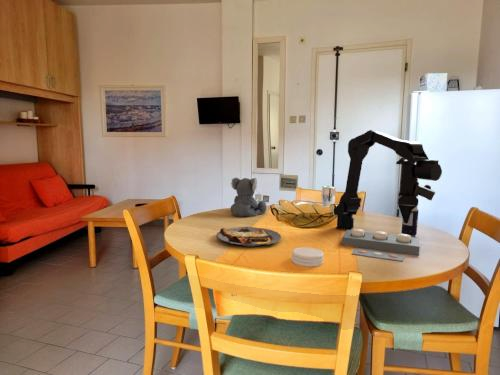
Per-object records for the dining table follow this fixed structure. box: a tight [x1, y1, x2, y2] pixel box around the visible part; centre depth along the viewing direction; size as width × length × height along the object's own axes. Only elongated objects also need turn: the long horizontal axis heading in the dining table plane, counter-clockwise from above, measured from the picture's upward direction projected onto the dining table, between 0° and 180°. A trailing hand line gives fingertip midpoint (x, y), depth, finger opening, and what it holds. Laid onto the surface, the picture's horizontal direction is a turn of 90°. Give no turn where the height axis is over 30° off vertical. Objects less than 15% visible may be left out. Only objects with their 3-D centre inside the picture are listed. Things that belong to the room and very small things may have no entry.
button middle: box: [373, 230, 388, 240], centre depth 129 cm, size 4×4×3 cm
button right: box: [397, 233, 411, 243], centre depth 126 cm, size 4×4×3 cm
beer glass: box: [320, 185, 336, 206], centre depth 178 cm, size 7×7×15 cm
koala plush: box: [229, 177, 267, 218], centre depth 179 cm, size 17×18×20 cm
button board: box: [341, 229, 421, 256], centre depth 129 cm, size 26×12×3 cm, turn 66°
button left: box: [351, 228, 365, 237], centre depth 132 cm, size 4×4×3 cm
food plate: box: [215, 226, 282, 248], centre depth 135 cm, size 25×23×4 cm
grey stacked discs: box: [291, 246, 324, 268], centre depth 111 cm, size 10×10×4 cm
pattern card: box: [351, 247, 404, 262], centre depth 119 cm, size 16×7×1 cm, turn 66°
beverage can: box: [400, 206, 419, 237], centre depth 143 cm, size 6×6×12 cm
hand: (405, 220), depth 125 cm, fingers open, 8 cm apart
